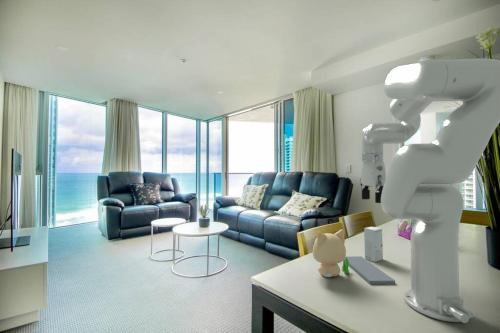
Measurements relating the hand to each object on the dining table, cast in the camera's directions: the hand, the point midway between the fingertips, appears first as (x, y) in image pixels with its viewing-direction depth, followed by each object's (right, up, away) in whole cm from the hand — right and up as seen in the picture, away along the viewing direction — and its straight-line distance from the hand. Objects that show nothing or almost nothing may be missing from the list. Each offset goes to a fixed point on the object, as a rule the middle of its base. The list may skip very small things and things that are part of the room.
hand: (372, 200), depth 91 cm
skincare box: (0, -23, -1) cm, 23 cm away
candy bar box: (+34, -24, +28) cm, 50 cm away
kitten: (-22, -23, -15) cm, 35 cm away
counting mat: (-9, -22, -11) cm, 27 cm away
